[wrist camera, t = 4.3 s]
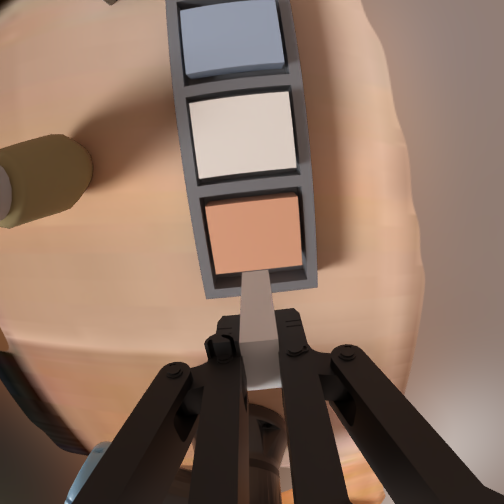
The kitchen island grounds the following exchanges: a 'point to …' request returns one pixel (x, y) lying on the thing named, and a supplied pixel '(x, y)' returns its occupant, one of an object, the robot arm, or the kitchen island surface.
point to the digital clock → (110, 1)
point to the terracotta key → (254, 232)
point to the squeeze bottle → (41, 178)
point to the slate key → (231, 38)
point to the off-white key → (243, 134)
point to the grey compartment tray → (251, 181)
